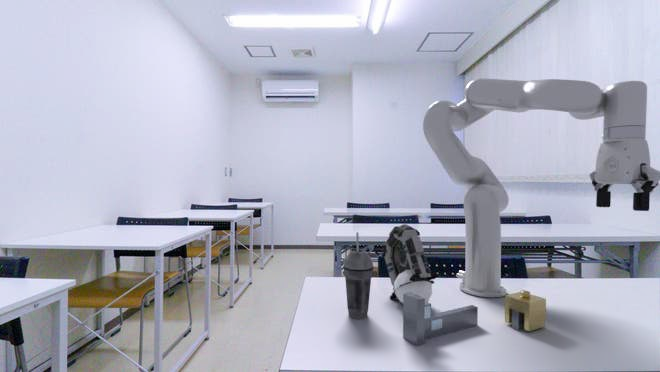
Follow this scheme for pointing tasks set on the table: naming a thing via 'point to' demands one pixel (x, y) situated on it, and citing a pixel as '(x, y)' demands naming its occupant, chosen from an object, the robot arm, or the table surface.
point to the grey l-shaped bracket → (433, 319)
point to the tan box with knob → (526, 309)
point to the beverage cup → (358, 282)
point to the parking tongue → (518, 320)
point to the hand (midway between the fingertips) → (620, 208)
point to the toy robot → (407, 263)
